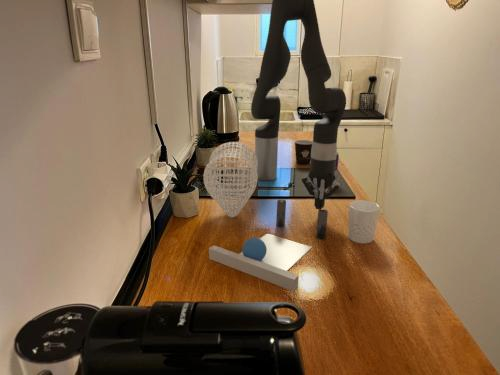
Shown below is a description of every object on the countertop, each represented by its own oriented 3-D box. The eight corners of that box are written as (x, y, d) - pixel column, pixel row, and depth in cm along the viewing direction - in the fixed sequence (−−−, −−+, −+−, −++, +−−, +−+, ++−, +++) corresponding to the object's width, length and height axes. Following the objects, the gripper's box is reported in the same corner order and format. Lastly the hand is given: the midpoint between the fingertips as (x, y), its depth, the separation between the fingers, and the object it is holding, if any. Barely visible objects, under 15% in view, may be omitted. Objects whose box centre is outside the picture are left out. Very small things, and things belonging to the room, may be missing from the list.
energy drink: (336, 184, 149) (339, 155, 145) (322, 183, 150) (324, 154, 146) (336, 180, 154) (338, 151, 149) (322, 179, 155) (325, 150, 150)
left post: (274, 226, 114) (275, 201, 111) (278, 223, 116) (279, 198, 113) (282, 228, 112) (283, 203, 109) (286, 225, 114) (287, 200, 111)
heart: (213, 199, 133) (211, 137, 125) (256, 200, 133) (258, 138, 125) (202, 236, 107) (199, 161, 99) (256, 237, 107) (258, 162, 99)
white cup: (375, 234, 109) (379, 202, 106) (374, 247, 102) (379, 213, 99) (347, 230, 112) (351, 198, 108) (344, 242, 105) (348, 209, 101)
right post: (314, 237, 107) (316, 211, 104) (318, 234, 109) (320, 208, 106) (323, 240, 105) (325, 214, 103) (326, 236, 107) (329, 211, 105)
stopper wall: (209, 258, 96) (208, 248, 95) (214, 255, 97) (213, 245, 96) (293, 291, 83) (294, 279, 82) (297, 286, 85) (298, 275, 84)
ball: (234, 255, 93) (243, 232, 93) (246, 258, 98) (255, 236, 98) (253, 264, 90) (262, 241, 90) (265, 266, 95) (274, 244, 95)
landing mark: (239, 254, 98) (239, 253, 98) (267, 234, 109) (267, 233, 109) (286, 271, 90) (286, 271, 90) (311, 247, 101) (311, 247, 101)
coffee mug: (291, 164, 174) (292, 143, 170) (296, 159, 181) (297, 139, 178) (316, 167, 170) (318, 145, 166) (320, 162, 177) (322, 141, 174)
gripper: (298, 155, 114) (295, 207, 121) (339, 162, 108) (334, 217, 114) (308, 150, 120) (305, 200, 126) (349, 156, 113) (343, 209, 120)
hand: (319, 208), depth 120 cm, fingers closed
